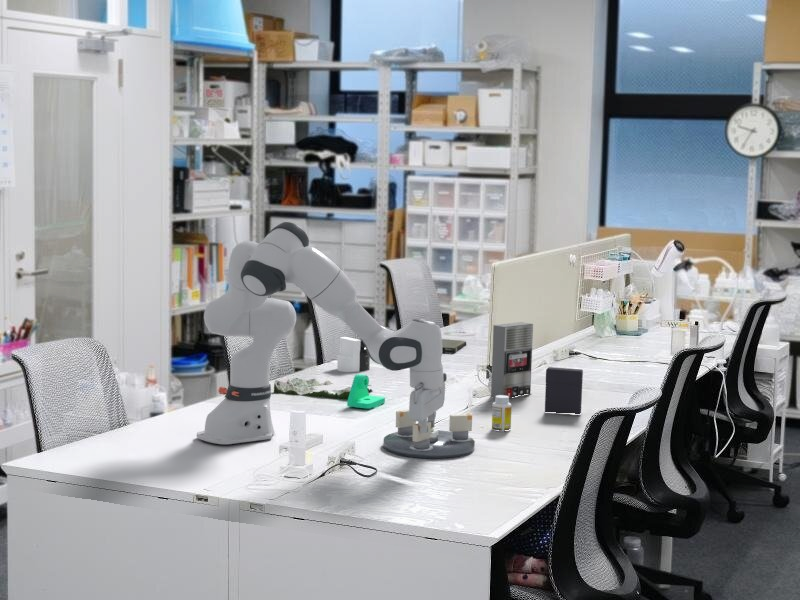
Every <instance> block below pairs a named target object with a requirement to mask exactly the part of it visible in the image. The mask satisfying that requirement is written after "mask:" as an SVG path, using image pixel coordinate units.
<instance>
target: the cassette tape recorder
mask: <svg viewBox="0 0 800 600" xmlns="http://www.w3.org/2000/svg"><path fill="white" fill-rule="evenodd" d="M492 334H493V335H492V355H491V356H492V357H491V358H492V359H491V382H490V383H491V387H490V398H492V397H493V398H492V399H495V397H496V396H497V395H505V396H509V398H512V397H515V396H518V395H524V394H531V391H532V390H531V386H532V363H533V362H532V361H533V358H532V357H533V338H534V337H533V336H534V324H533V323H529V322H525V321H520V322H511V323H502V324H493V329H492ZM512 399H513V398H512Z"/></svg>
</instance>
